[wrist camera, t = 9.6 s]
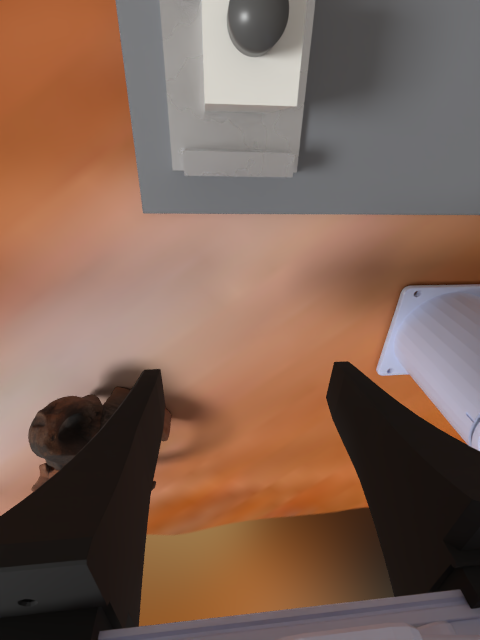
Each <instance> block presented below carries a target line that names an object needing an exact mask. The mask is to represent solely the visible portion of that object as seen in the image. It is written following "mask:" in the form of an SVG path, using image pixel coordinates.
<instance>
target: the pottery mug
mask: <svg viewBox="0 0 480 640" xmlns="http://www.w3.org/2000/svg"><path fill="white" fill-rule="evenodd" d="M130 391H131V390H129V389H126V388H122V387H116V388H115V389H114V390H113V392H112V394H111V396H110V397H109V398H108V399H107V401H106V402H105V403H104V404H103V405H102V404H101V401H100V400H99V398H98V397H97V396H95V395H93V394H91V395H87V396H85V397H82V398H81V397H77V396H68V397H63V398H60V399H57V400H55V401H53V402H51V403H50V404H48V405H47V406H46V407H45V408H43V409H42V410H40V411H39V412H38V413H37V415H36V417H35V418H34V420H33V422H32V424H31V426H30V429H29V436H28V438H29V443H30V447H31V449H32V451H33V452H34V453H35V454H36V455H37V456H39V457H41V458H44V459H45V460H46V463H44V464H42V465H40V466H39V469H40V477H39V479H38V481H37V482H36V484H35V485H33V487H32V491H33V492H34V491H35V490H37V489H38V488H39V487H40V486H41V485H43V484H44V483H45V482H46V481H47V480H49V479H50V478H51V477H52V476H53V475H55V474H56V473H57V472H58V471H59V470H60V469H62V468H63V467H64V466H65V465H66V464H67V463H68V462H69V461H70V460H71V459H72V458H73V457H74V456H75V455H76V454H78V453H79V452H80V451H81V450H82V449H83V448H84V447H85V446H86V445H87V443H88V442H89V441H90V440H91V439H92V438H93V437H94V436H95V435H96V434H97V433H98V432H99V430H100V429H101V428H102V427H103V426H104V425H105V423H106V422H107V421H108V420H109V419H110V417H111V416H112V415H113V414H114V412H115V411H116V410H117V409H118V407H119V406H120V404H121V403H122V402H123V400H124V399H125V398H126V396H127V395H128V393H129V392H130ZM171 418H172V415H171V414H170V412H169V411H168V410H167V409H165V417H164V428H163V434H162V439H161V440H162V441H167V440H168V437H169V433H170V422H171ZM155 485H156V481H153V483H152V489H151V491H152V490H153V489H154V488H155Z"/></svg>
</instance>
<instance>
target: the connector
mask: <svg viewBox="0 0 480 640" xmlns="http://www.w3.org/2000/svg"><path fill="white" fill-rule="evenodd" d="M201 2H202V34H203V67H204V99H205V111H214V112H248V113H271V112H275V111H279V110H283V109H288V108H292V107H296V106H297V99H298V89H299V78H300V68H301V57H302V47H303V36H304V25H305V15H306V4H307V0H201Z"/></svg>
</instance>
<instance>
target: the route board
mask: <svg viewBox="0 0 480 640" xmlns="http://www.w3.org/2000/svg"><path fill="white" fill-rule="evenodd" d="M116 7H117V15H118V23H119V30H120V38H121V46H122V53H123V61H124V69H125V77H126V84H127V92H128V100H129V107H130V115H131V123H132V131H133V138H134V146H135V154H136V161H137V169H138V177H139V185H140V192H141V200H142V208H143V213H183V214H389V215H480V0H315V9H314V18H313V27H312V37H311V46H310V55H309V64H308V73H307V83H306V92H305V101H304V110H303V119H302V129H301V138H300V147H299V156H298V165H297V173H293V177H233V176H184V171H180V170H173V169H172V156H171V143H170V130H169V117H168V104H167V91H166V78H165V65H164V52H163V39H162V26H161V13H160V1H159V0H116Z"/></svg>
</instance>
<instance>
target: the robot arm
mask: <svg viewBox="0 0 480 640" xmlns="http://www.w3.org/2000/svg"><path fill="white" fill-rule="evenodd" d="M416 291H418V292H417V293H416V294H415V295H414V293H415V292H416ZM388 369H389V370H388ZM376 371H377V372H378V374H379V375H404V374H410V376H411V377H412V378H413V379H414V381H415V382H416V383H417V384H418V385H419V387H420V388H421V389H422V390H423V391H424V393H425V394H426V395H427V396H428V397H429V399H430V400H431V401H432V402H433V403H434V405H435V406H436V407H437V408H438V409H439V411H440V412H441V413H442V414H443V415H444V417H445V418H446V419H447V420H448V421H449V423H450V424H451V425H452V426H453V428H454V429H455V430H456V431H457V432H458V434H459V435H460V436H461V437H462V438H463V440H464V441H465V442H466V443H467V444H468V445H467V444H465V443H463V442H461V441H459V440H457V439H456V438H454V437H452V436H450V435H448V434H447V433H445V432H443V431H441V430H440V429H438V428H436V427H435V426H433V425H432V424H430V423H429V422H427V421H425V420H424V419H422V418H421V417H419V416H418V415H416V414H415V413H413V412H412V411H410V410H409V409H408V408H406V407H405V406H403V405H402V404H401V403H399V402H398V401H397V400H395V399H394V398H393V397H391V396H390V395H389V394H388V393H386V392H385V391H384V390H383V389H381V388H380V387H379V386H378V385H376V384H375V383H374V382H373V381H371V380H370V379H369V378H368V377H367V376H365V375H364V374H363V373H362V372H361V371H359V370H358V369H357V368H356V367H355V366H353V365H352V364H351V363H350V362H334V365H333V370H332V374H331V378H330V383H329V387H328V391H327V396H326V399H327V402H328V406H329V409H330V412H331V415H332V419H333V421H334V423H335V426H336V428H337V430H338V432H339V435H340V437H341V439H342V441H343V443H344V446H345V448H346V450H347V452H348V454H349V456H350V459H351V461H352V463H353V465H354V467H355V470H356V472H357V474H358V477H359V479H360V482H361V485H362V488H363V491H364V494H365V497H366V500H367V503H368V506H369V509H370V511H371V515H372V518H373V521H374V524H375V528H376V531H377V534H378V538H379V541H380V545H381V548H382V551H383V555H384V558H385V562H386V566H387V570H388V573H389V577H390V581H391V585H392V589H393V593H394V596H395V597H391V598H382V599H373V600H365V601H356V602H348V603H339V604H330V605H321V606H313V607H304V608H296V609H287V610H278V611H270V612H261V613H253V614H244V615H235V616H227V617H218V618H209V619H201V620H192V621H183V622H175V623H167V624H158V625H150V626H140V627H139V615H140V600H141V587H142V576H143V564H144V552H145V543H146V532H147V522H148V513H149V504H150V495H151V489H152V483H153V478H154V473H155V468H156V463H157V459H158V454H159V449H160V444H161V439H162V434H163V428H164V417H165V400H164V392H163V385H162V377H161V370H160V369H153V370H144V371H143V372H142V374H141V375H140V377H139V378H138V380H137V382H136V383H135V385H134V386H133V388H132V389H131V391H130V392H129V393H128V395H127V396H126V398H125V399H124V400H123V402H122V403H121V404H120V406H119V407H118V409H117V410H116V411H115V412H114V414H113V415H112V416H111V417H110V419H109V420H108V421H107V422H106V423H105V425H104V426H103V427H102V428H101V429H100V430H99V432H98V433H97V434H96V435H95V436H94V437H93V438H92V439H91V440H90V441H89V442H88V443H87V445H86V446H85V447H84V448H83V449H82V450H81V451H80V452H79V453H78V454H76V455H75V456H74V457H73V458H72V459H71V460H70V461H69V462H68V463H67V464H66V465H65V466H64V467H63V468H62V469H60V470H59V471H58V472H57V473H56V474H55V475H53V476H52V477H51V478H50V479H49V480H47V481H46V482H45V483H44V484H43V485H41V486H40V487H39V488H38V489H37V490H35V491H34V492H33V493H32V494H30V495H29V496H28V497H26V498H25V499H24V500H22V501H21V502H20V503H18V504H17V505H15V506H14V507H13V508H11V509H10V510H8V511H7V512H6V513H4V514H3V515H2V516H0V640H480V284H469V285H413V286H407V287H405V288H404V289H403V290H402V292H401V295H400V298H399V301H398V304H397V307H396V310H395V313H394V316H393V319H392V322H391V325H390V328H389V332H388V335H387V338H386V341H385V344H384V347H383V350H382V353H381V356H380V359H379V362H378V366H377V369H376Z"/></svg>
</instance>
